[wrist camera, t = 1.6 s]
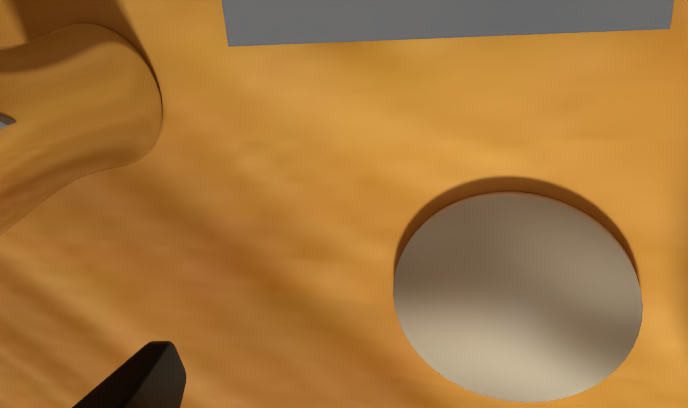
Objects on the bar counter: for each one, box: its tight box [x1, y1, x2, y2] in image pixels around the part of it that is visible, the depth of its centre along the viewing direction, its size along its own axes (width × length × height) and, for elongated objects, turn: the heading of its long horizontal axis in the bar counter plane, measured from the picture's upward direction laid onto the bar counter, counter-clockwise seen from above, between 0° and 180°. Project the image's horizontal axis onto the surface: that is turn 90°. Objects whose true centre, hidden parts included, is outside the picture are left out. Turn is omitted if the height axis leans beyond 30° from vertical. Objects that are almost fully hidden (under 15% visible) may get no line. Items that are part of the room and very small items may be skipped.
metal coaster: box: [393, 191, 643, 402], centre depth 22 cm, size 9×9×1 cm
